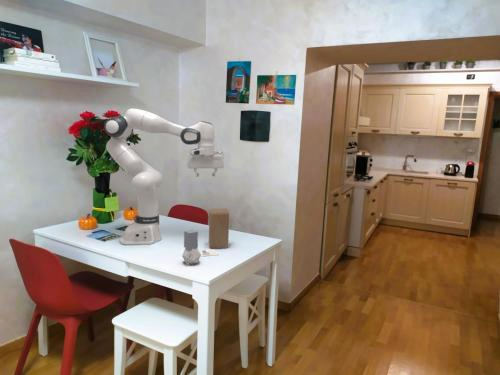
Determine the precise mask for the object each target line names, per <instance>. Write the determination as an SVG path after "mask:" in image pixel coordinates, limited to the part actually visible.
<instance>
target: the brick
mask: <svg viewBox="0 0 500 375" xmlns="http://www.w3.org/2000/svg"><path fill="white" fill-rule="evenodd" d="M198 234H199V232H198V231H197V230H194V229H189V230H184V231H183V248H184V249H185V248H187V249H189V250H191V249H195V248H198V245H199V240H198ZM198 249H199V248H198Z"/></svg>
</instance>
